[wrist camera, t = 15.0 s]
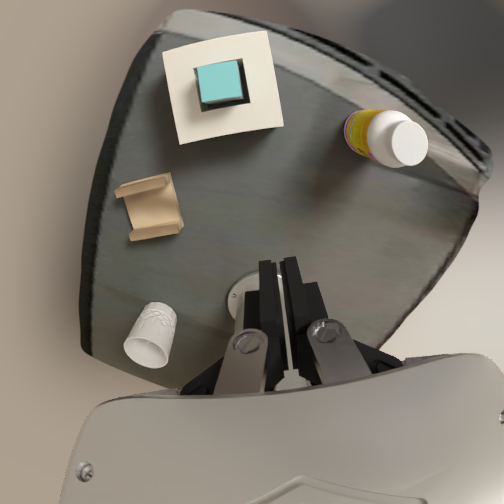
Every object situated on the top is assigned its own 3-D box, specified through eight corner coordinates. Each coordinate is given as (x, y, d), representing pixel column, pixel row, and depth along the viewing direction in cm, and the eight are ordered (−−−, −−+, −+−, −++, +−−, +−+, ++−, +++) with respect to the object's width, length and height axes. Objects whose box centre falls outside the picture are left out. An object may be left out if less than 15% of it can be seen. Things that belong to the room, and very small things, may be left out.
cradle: (184, 225, 40) (179, 233, 38) (138, 233, 41) (131, 242, 38) (170, 172, 36) (163, 176, 34) (123, 184, 37) (114, 189, 34)
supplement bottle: (338, 148, 35) (375, 165, 23) (346, 104, 31) (388, 101, 20) (379, 159, 35) (426, 182, 24) (388, 118, 32) (440, 124, 21)
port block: (279, 124, 33) (283, 126, 28) (191, 140, 34) (179, 144, 29) (264, 43, 28) (266, 30, 22) (176, 61, 29) (162, 52, 23)
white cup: (173, 297, 47) (158, 337, 38) (185, 329, 50) (174, 368, 42) (135, 299, 47) (116, 336, 39) (149, 330, 51) (135, 367, 42)
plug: (244, 100, 31) (241, 95, 24) (213, 105, 31) (201, 102, 24) (240, 72, 29) (236, 60, 22) (209, 77, 29) (197, 67, 22)
